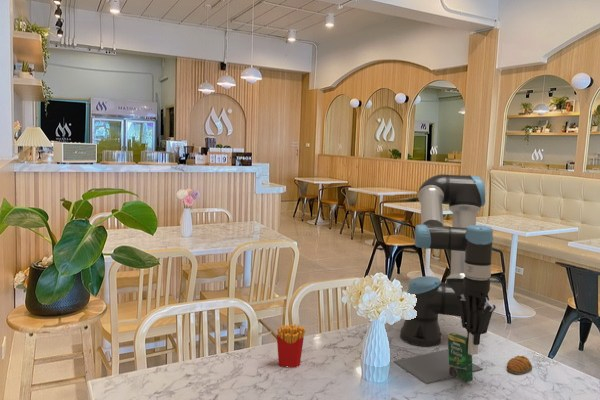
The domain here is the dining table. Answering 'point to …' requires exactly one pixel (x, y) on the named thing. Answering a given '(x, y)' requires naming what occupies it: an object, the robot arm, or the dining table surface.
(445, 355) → the slate mat
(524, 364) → the pastry
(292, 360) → the french fries
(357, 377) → the dining table surface
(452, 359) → the coffee box
